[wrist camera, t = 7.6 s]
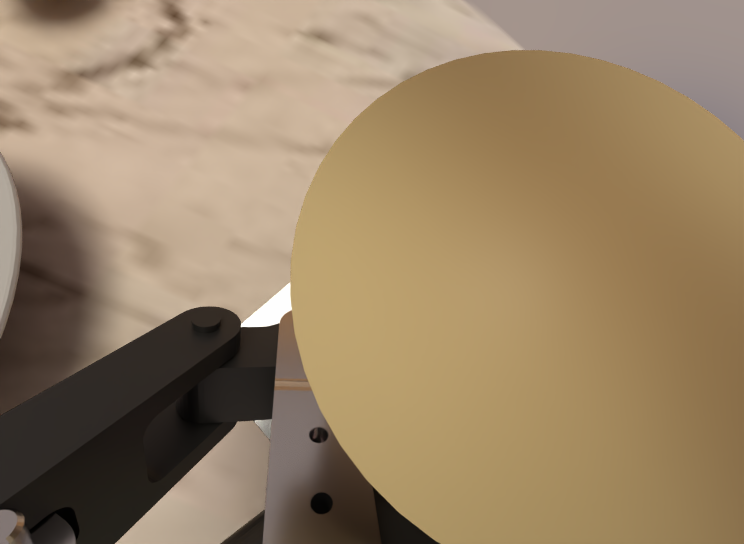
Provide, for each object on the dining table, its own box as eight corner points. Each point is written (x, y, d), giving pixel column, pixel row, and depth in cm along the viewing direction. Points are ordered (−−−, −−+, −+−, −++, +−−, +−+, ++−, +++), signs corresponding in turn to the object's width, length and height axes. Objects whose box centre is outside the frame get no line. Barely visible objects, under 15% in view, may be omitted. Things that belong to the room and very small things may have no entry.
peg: (396, 455, 17) (623, 777, 3) (319, 369, 18) (173, 256, 4) (474, 373, 18) (937, 284, 4) (397, 295, 19) (533, -22, 5)
